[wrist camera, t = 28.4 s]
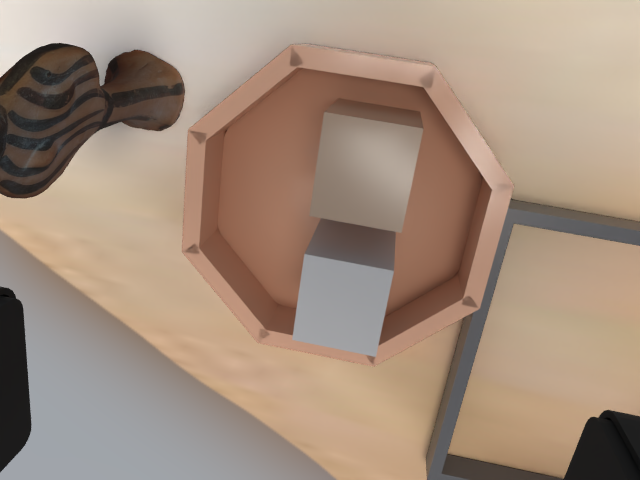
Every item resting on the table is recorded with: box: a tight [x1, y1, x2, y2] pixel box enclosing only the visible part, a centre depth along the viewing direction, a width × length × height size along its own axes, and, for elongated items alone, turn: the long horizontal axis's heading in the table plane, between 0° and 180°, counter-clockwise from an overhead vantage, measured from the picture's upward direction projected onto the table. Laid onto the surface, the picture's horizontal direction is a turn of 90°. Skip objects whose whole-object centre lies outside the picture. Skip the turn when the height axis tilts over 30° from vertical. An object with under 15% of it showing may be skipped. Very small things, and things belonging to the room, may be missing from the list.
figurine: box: [0, 43, 185, 198], centre depth 24 cm, size 7×5×18 cm
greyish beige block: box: [309, 98, 424, 233], centre depth 28 cm, size 4×5×6 cm
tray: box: [426, 199, 640, 480], centre depth 33 cm, size 15×20×2 cm
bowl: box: [182, 44, 514, 366], centre depth 31 cm, size 17×17×4 cm
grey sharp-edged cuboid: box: [292, 218, 396, 357], centre depth 30 cm, size 4×5×6 cm
